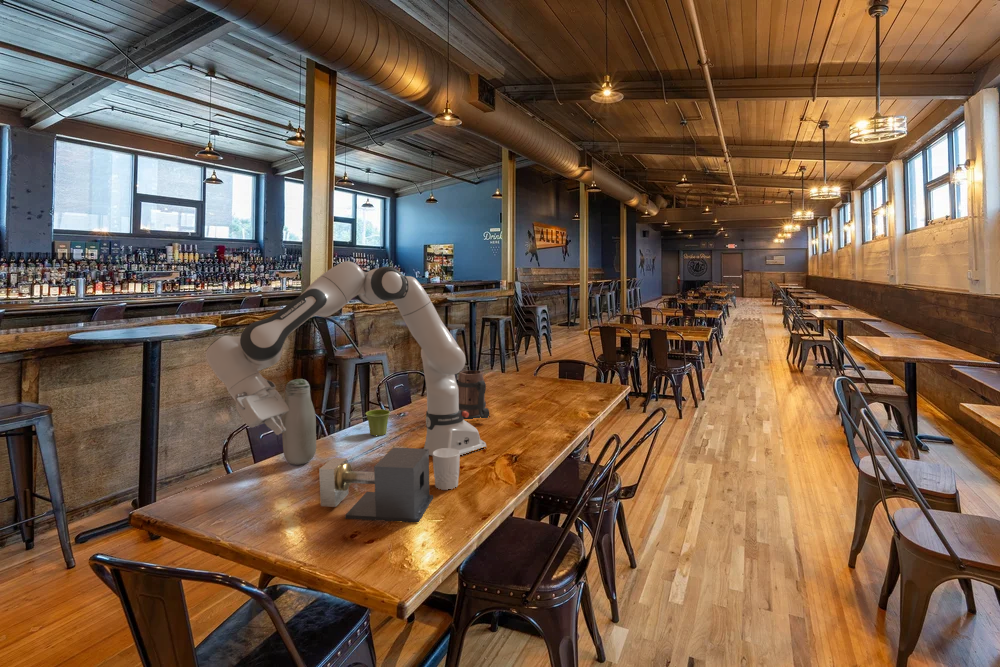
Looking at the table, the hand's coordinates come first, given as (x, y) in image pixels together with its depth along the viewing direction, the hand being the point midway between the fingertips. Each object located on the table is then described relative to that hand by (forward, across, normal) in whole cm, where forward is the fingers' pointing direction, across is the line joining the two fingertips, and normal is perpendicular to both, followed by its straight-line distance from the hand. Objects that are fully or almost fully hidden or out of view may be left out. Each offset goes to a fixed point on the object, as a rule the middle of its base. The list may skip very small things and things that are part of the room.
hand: (281, 432), depth 132 cm
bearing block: (+33, -3, -12) cm, 36 cm away
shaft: (+28, -2, -8) cm, 29 cm away
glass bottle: (+9, +32, +14) cm, 36 cm away
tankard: (+38, +81, -37) cm, 97 cm away
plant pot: (+18, +61, -5) cm, 64 cm away
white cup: (+40, +10, -25) cm, 48 cm away
